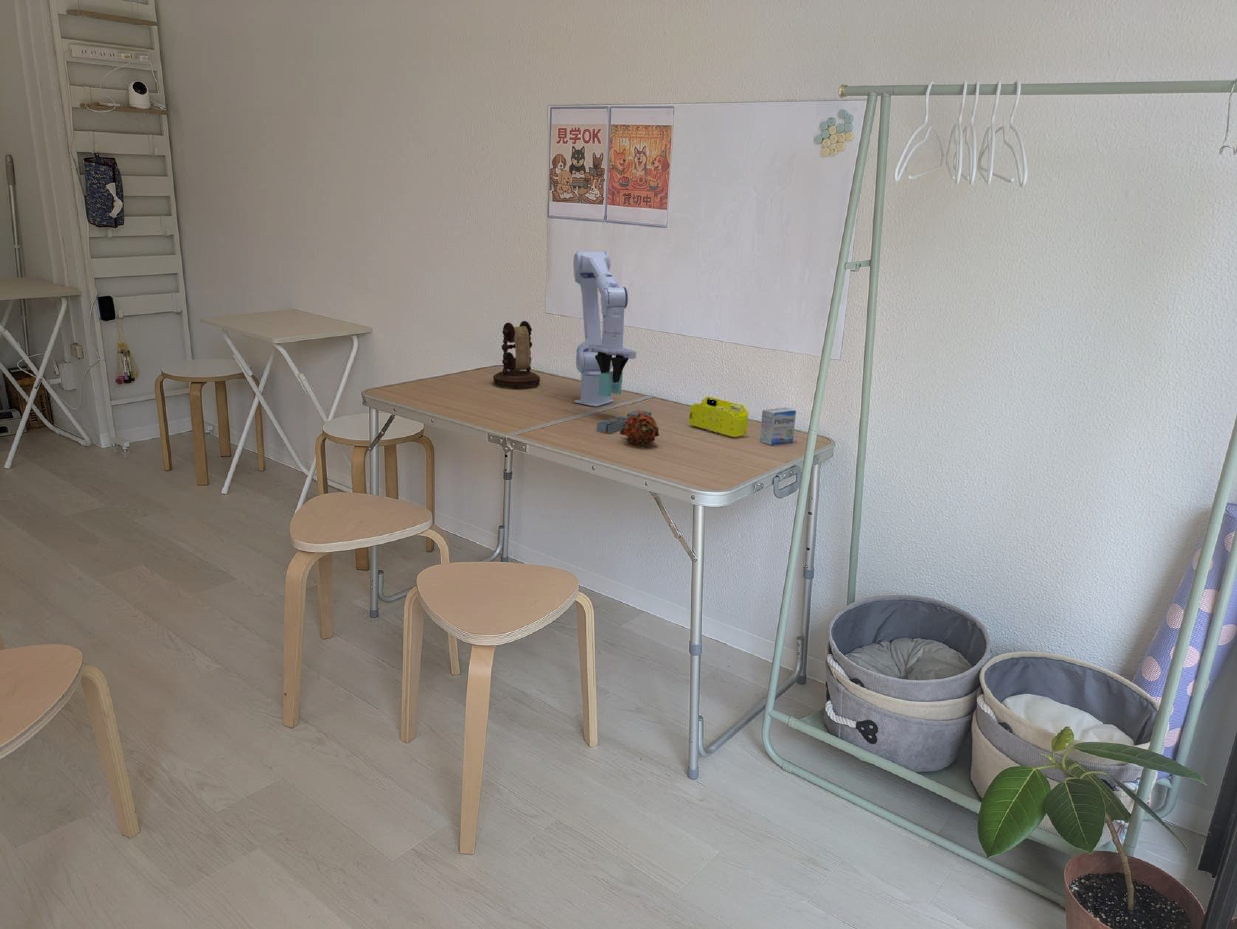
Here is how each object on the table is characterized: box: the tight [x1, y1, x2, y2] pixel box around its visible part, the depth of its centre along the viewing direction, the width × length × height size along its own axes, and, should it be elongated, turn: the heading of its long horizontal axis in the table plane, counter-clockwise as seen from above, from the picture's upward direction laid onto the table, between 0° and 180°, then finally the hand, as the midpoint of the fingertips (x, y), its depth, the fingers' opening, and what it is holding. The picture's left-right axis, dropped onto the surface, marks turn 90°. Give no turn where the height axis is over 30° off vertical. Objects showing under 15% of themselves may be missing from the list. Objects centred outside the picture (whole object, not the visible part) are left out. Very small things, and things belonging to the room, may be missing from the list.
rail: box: [596, 409, 652, 435], centre depth 249 cm, size 20×4×2 cm, turn 146°
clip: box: [599, 370, 624, 397], centre depth 253 cm, size 7×3×6 cm, turn 146°
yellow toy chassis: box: [688, 395, 749, 438], centre depth 246 cm, size 16×6×8 cm, turn 44°
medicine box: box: [759, 407, 797, 446], centre depth 239 cm, size 8×4×9 cm, turn 122°
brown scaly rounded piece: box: [619, 413, 660, 446], centre depth 232 cm, size 8×8×12 cm
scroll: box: [492, 320, 541, 390], centre depth 289 cm, size 15×15×20 cm
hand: (610, 381), depth 253 cm, fingers closed on clip, 3 cm apart
